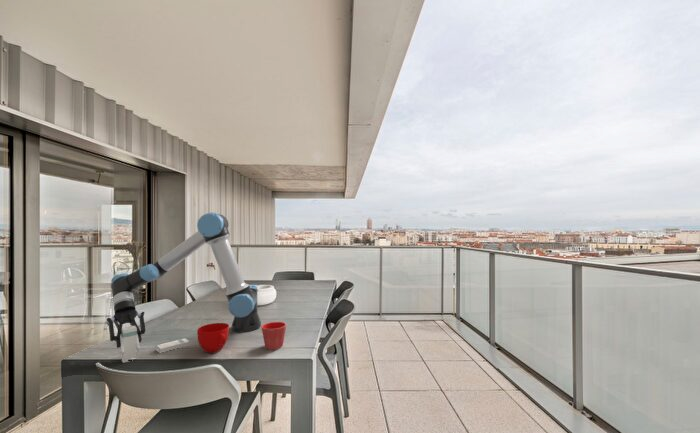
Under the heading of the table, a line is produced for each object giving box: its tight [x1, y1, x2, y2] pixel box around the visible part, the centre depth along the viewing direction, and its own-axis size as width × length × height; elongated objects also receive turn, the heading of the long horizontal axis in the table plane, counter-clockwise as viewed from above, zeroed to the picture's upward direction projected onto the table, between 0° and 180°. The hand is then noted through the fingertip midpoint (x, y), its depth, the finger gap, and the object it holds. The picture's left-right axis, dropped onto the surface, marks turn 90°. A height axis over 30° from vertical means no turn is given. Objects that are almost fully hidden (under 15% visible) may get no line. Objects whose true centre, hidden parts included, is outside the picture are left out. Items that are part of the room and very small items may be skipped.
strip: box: [155, 338, 190, 354], centre depth 136 cm, size 12×6×2 cm, turn 135°
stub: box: [120, 325, 138, 364], centre depth 125 cm, size 5×5×13 cm
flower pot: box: [261, 321, 287, 351], centre depth 136 cm, size 11×11×10 cm
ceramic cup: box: [196, 322, 230, 354], centre depth 132 cm, size 13×17×10 cm
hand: (130, 351), depth 122 cm, fingers closed on stub, 4 cm apart
